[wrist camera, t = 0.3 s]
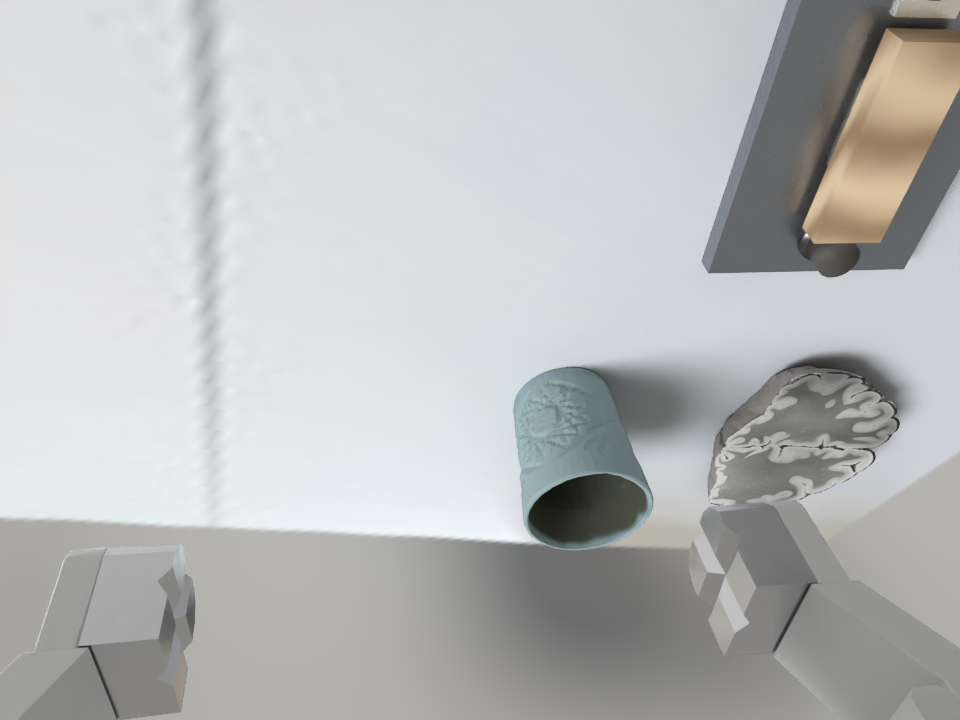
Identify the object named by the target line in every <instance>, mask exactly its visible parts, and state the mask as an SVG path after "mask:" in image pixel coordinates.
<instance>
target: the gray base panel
mask: <svg viewBox="0 0 960 720" xmlns="http://www.w3.org/2000/svg"><path fill="white" fill-rule="evenodd" d="M886 28H908V29H947V30H960V0H788V1H787V4H786V7H785V10H784V13H783V16H782V19H781V22H780V25H779V28H778V31H777V34H776V37H775V40H774V43H773V46H772V49H771V52H770V55H769V58H768V61H767V64H766V68H765V71H764V74H763V77H762V80H761V83H760V86H759V89H758V92H757V95H756V98H755V101H754V104H753V107H752V110H751V113H750V116H749V119H748V122H747V125H746V128H745V131H744V134H743V137H742V140H741V143H740V146H739V149H738V152H737V156H736V159H735V162H734V165H733V168H732V171H731V174H730V177H729V180H728V183H727V186H726V189H725V192H724V195H723V198H722V201H721V204H720V207H719V210H718V213H717V216H716V219H715V222H714V225H713V228H712V231H711V234H710V237H709V240H708V243H707V247H706V250H705V253H704V256H703V259H702V263H703V265H704V266H705V268H706V270H707V272H708V273H743V272H790V271H818V270H817V268H816V267H815V265H814V264H813V263H812V261H811V260H810V258H809V257H808V255H807V253H806V248H807V245H808V243H809V241H810V240H811V239H810V237H809V236H808V235H807V233H806V232H805V231H804V229H803V228H802V226H803V224H804V222H805V219H806V217H807V214H808V212H809V210H810V207H811V205H812V203H813V200H814V198H815V196H816V193H817V191H818V188H819V186H820V184H821V181H822V179H823V177H824V174H825V172H826V170H827V167H828V165H829V162H830V160H831V158H832V155H833V153H834V151H835V148H836V146H837V144H838V141H839V139H840V136H841V134H842V132H843V129H844V127H845V125H846V122H847V120H848V118H849V115H850V113H851V110H852V108H853V106H854V103H855V101H856V99H857V96H858V94H859V92H860V89H861V87H862V84H863V82H864V80H865V77H866V75H867V73H868V70H869V68H870V66H871V63H872V61H873V58H874V56H875V54H876V51H877V49H878V47H879V44H880V42H881V40H882V37H883V35H884V32H885V30H886ZM959 169H960V88H959V90H958V92H957V94H956V96H955V98H954V100H953V102H952V104H951V106H950V108H949V110H948V112H947V114H946V116H945V118H944V120H943V122H942V124H941V125H940V127H939V129H938V131H937V133H936V135H935V137H934V139H933V141H932V143H931V145H930V147H929V149H928V151H927V153H926V155H925V157H924V159H923V161H922V162H921V164H920V166H919V168H918V170H917V172H916V174H915V176H914V178H913V180H912V182H911V184H910V186H909V188H908V190H907V192H906V194H905V196H904V198H903V200H902V201H901V203H900V205H899V207H898V209H897V211H896V213H895V215H894V217H893V219H892V221H891V223H890V225H889V227H888V229H887V231H886V233H885V235H884V237H883V238H882V240H881V242H880V243H855V244H856V245H857V246H858V248H859V249H860V258H859V260H858V262H857V264H856V265H855V266H854V267H853V268H852V269H851V270H883V269H904V268H905V266H906V264H907V262H908V261H909V259H910V257H911V255H912V253H913V252H914V250H915V248H916V246H917V244H918V243H919V241H920V239H921V237H922V235H923V234H924V232H925V230H926V228H927V226H928V225H929V223H930V221H931V219H932V217H933V216H934V214H935V212H936V210H937V208H938V206H939V205H940V203H941V201H942V199H943V197H944V196H945V194H946V192H947V190H948V188H949V187H950V185H951V183H952V181H953V179H954V178H955V176H956V174H957V172H958V170H959Z"/></svg>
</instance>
